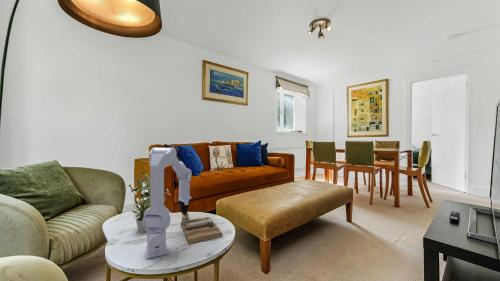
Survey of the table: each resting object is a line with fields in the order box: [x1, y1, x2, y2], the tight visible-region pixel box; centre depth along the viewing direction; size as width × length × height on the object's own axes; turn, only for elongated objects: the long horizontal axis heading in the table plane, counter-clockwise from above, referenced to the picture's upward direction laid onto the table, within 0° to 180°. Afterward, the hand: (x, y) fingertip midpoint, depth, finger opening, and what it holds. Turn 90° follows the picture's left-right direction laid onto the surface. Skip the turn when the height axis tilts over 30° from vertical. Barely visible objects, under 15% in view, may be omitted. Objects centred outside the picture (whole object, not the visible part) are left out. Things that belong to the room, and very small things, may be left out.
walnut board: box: [180, 216, 223, 245], centre depth 104 cm, size 22×16×5 cm
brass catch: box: [181, 211, 190, 220], centre depth 108 cm, size 5×2×2 cm, turn 28°
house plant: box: [130, 198, 150, 233], centre depth 102 cm, size 14×14×16 cm
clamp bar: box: [186, 218, 213, 228], centre depth 104 cm, size 4×13×2 cm, turn 118°
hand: (184, 214), depth 112 cm, fingers closed
